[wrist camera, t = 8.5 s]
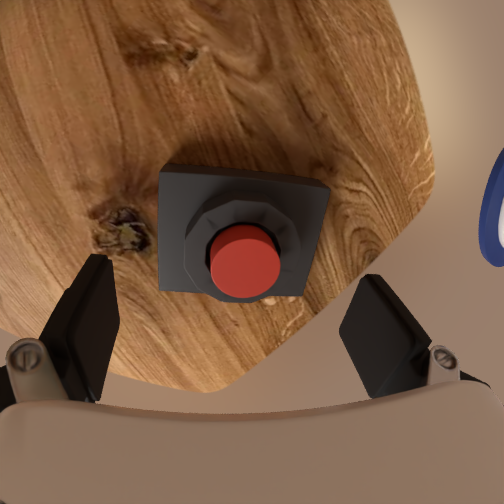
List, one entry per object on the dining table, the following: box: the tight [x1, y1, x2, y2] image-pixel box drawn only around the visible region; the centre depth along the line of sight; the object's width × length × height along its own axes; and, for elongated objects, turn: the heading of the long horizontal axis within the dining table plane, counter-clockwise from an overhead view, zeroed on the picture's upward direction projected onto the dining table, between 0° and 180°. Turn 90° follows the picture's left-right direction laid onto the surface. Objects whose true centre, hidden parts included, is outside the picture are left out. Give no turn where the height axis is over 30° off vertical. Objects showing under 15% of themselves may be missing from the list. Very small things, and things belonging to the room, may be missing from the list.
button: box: [210, 225, 280, 298], centre depth 15 cm, size 4×4×2 cm
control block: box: [158, 164, 331, 303], centre depth 17 cm, size 10×8×4 cm
